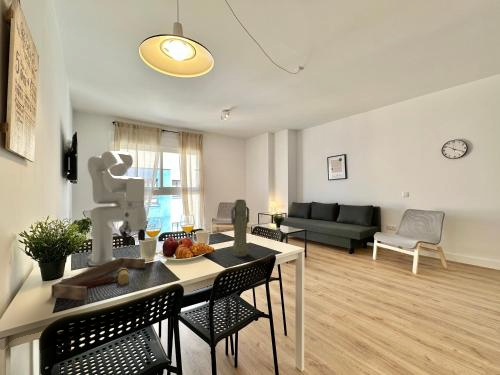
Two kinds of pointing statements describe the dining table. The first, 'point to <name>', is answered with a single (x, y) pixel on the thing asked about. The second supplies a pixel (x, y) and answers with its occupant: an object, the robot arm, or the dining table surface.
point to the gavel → (109, 279)
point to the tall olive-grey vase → (240, 227)
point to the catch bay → (90, 278)
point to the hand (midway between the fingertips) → (134, 242)
